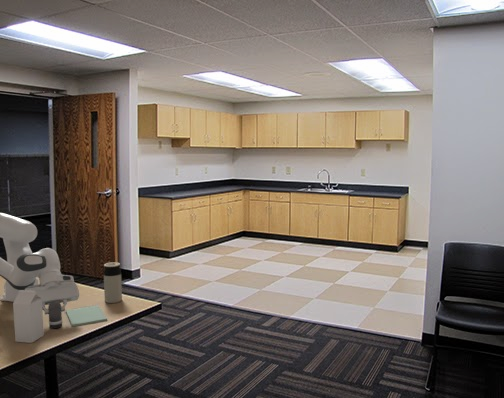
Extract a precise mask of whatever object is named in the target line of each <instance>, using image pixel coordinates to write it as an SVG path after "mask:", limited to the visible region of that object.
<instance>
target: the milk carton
mask: <svg viewBox="0 0 504 398" xmlns="http://www.w3.org/2000/svg"><path fill="white" fill-rule="evenodd" d="M12 306H13V323H14V324H13V325H14V337H15V338H14V339H15V342H16V343H28V344H33V343H34V342H36V341H37V340H39V339H41V338H42V337H43V336H45V335H44V333H45V332H44V317H43V316H44V315H43V314H44V311H43V309H42V298H40V297H39V296H38V295H37V294H36V291H24V290H19V293H18V295H17V297H16V299H15V301H14V302H13V303H12Z"/></svg>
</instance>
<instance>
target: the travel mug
mask: <svg viewBox="0 0 504 398" xmlns="http://www.w3.org/2000/svg"><path fill="white" fill-rule="evenodd" d="M103 266H104V270H103V287H104V289H103V290H104V302H105V303H106V304H107V303H108V304H116V303H119V302H121V301H122V300H123V289H122V288H123V287H122V286H123V285H122V268H120V266H121V263H120V262H117V261H116V262H115V261H114V262H112V261H111V262H106V263H104V264H103Z"/></svg>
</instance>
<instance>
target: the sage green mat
mask: <svg viewBox="0 0 504 398" xmlns="http://www.w3.org/2000/svg"><path fill="white" fill-rule="evenodd" d="M65 313H66V315H67V318H68V320H69V322H70V325H71V327H79V326H84V325H89V324H96V323H100V322H101V323H102V322H105V321H106V322H107V321H108V317H107V315H105V313H104V311H103V310H102V308H101V307H100V305H98V304H96V305H90V306H83V307H78V308H72V309H65Z"/></svg>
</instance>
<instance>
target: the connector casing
mask: <svg viewBox="0 0 504 398" xmlns="http://www.w3.org/2000/svg"><path fill="white" fill-rule="evenodd" d="M61 306H62V304H61V303H59V302H57V301H53V302H51V303H50V304H49V305H48V306H47V307H48V308H47V309H48V310H49V314H48V325H49V329H58V328H61V327H63V319H62V313H63V312H61Z"/></svg>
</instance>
